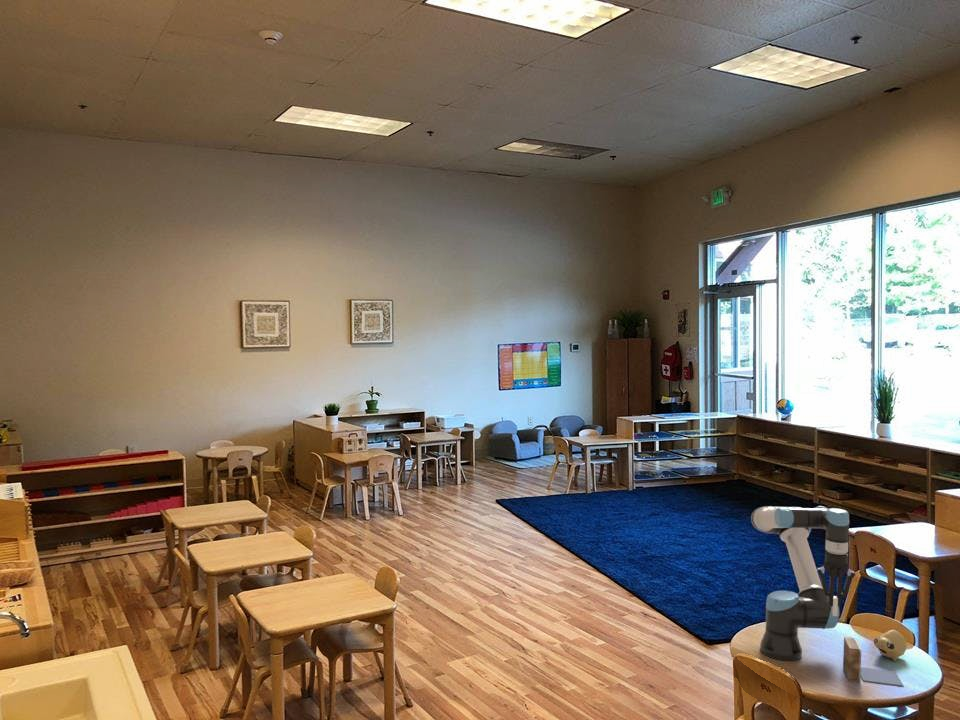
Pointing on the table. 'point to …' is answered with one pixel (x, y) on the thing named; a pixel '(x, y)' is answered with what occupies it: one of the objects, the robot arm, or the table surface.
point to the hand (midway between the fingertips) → (834, 614)
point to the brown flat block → (852, 659)
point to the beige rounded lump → (891, 644)
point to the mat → (880, 676)
